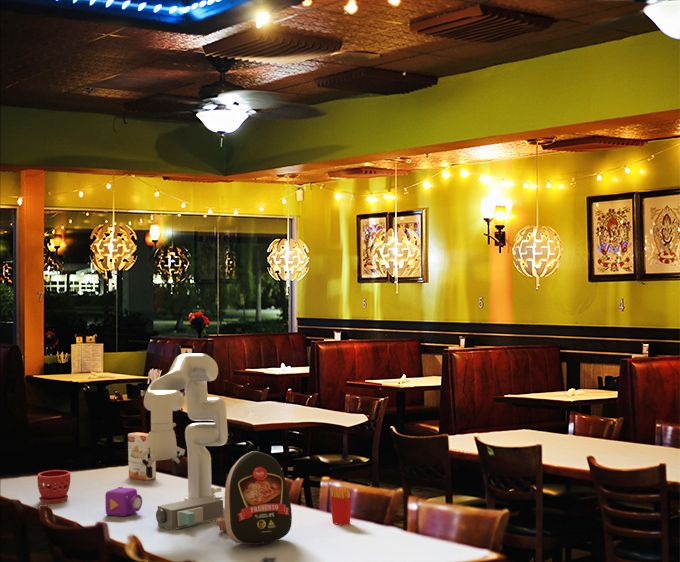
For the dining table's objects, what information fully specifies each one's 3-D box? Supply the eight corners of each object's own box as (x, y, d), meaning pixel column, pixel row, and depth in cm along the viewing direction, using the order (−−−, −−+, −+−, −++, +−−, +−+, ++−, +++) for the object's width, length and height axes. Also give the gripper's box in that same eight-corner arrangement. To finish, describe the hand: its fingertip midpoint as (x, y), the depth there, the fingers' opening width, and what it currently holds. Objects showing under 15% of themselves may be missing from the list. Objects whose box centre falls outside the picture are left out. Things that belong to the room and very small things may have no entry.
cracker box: (127, 477, 407) (127, 433, 407) (138, 475, 411) (137, 431, 412) (145, 480, 397) (145, 435, 398) (156, 478, 402) (155, 434, 403)
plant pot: (30, 504, 354) (30, 474, 355) (52, 497, 367) (52, 469, 367) (56, 506, 349) (55, 476, 350) (77, 499, 362) (76, 470, 362)
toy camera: (135, 518, 326) (135, 491, 326) (102, 517, 329) (102, 490, 329) (147, 511, 337) (147, 485, 337) (115, 510, 339) (115, 485, 340)
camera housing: (208, 514, 329) (208, 496, 329) (224, 519, 321) (223, 500, 321) (154, 526, 313) (153, 506, 313) (168, 531, 305) (168, 511, 305)
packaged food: (234, 554, 274) (233, 460, 275) (218, 539, 292) (216, 451, 293) (298, 545, 283) (296, 454, 284) (279, 531, 301) (277, 446, 302)
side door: (201, 520, 314) (201, 506, 314) (210, 523, 310) (210, 509, 310) (177, 525, 308) (177, 511, 308) (186, 528, 303) (186, 514, 303)
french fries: (353, 524, 309) (353, 487, 310) (345, 526, 306) (345, 489, 307) (335, 520, 316) (334, 484, 316) (327, 522, 312) (326, 486, 313)
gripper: (179, 424, 313) (179, 471, 312) (134, 428, 303) (135, 477, 302) (188, 426, 307) (189, 474, 306) (143, 430, 297) (143, 480, 296)
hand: (162, 475), depth 304 cm, fingers open, 9 cm apart
